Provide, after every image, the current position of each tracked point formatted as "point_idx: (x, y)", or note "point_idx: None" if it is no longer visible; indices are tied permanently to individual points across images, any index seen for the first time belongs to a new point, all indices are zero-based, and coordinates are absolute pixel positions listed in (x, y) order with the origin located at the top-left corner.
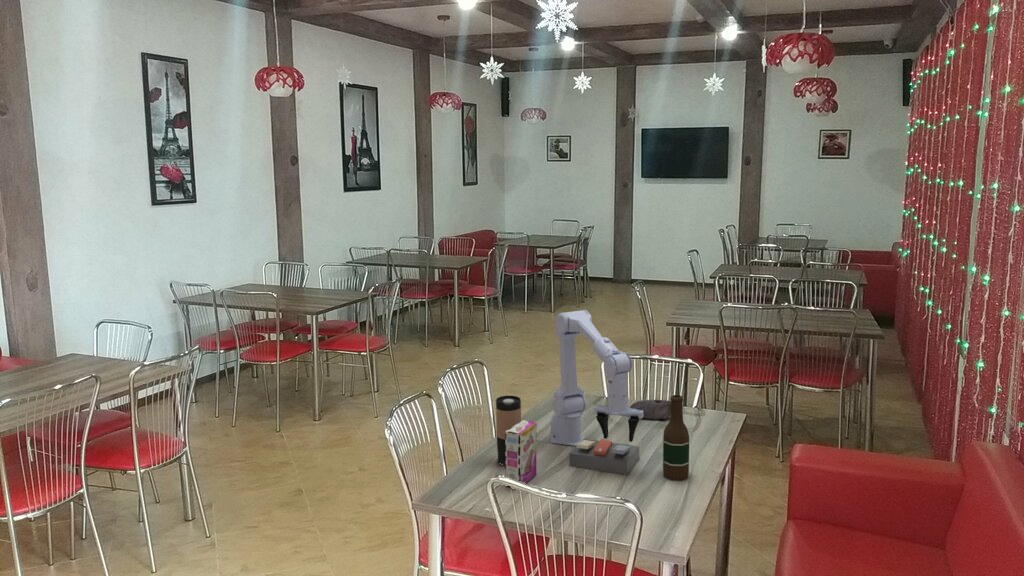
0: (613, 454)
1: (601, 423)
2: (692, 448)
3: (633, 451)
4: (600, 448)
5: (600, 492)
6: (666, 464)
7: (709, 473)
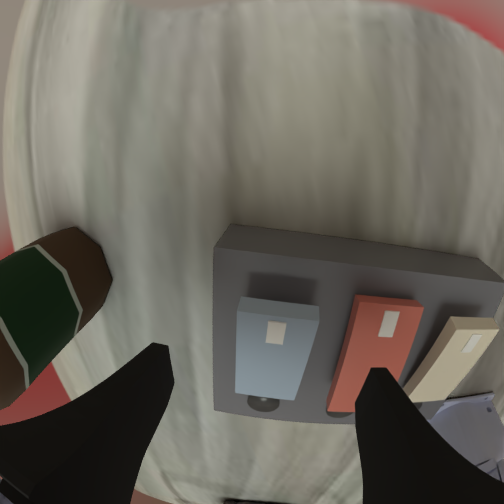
0: None
1: (452, 471)
2: None
3: (221, 371)
4: (387, 339)
5: (307, 12)
6: (56, 257)
7: None
